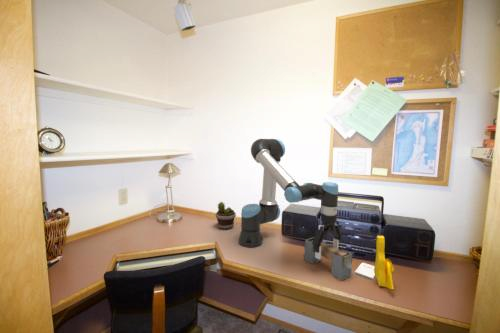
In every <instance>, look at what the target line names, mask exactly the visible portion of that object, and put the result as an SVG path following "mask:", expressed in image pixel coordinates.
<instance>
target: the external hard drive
mask: <svg viewBox="0 0 500 333" xmlns="http://www.w3.org/2000/svg"><path fill="white" fill-rule="evenodd" d="M374 267H375V265H373V264H368V263H367V262H361V263H360V264H359V265H358V267H357V268H356V270H355V271H354V272H353V273H354V275H356V276H359V277H363V278H365V279H367V280H370V281H373V280H374V279H376V277H375V274H374Z"/></svg>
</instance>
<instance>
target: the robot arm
mask: <svg viewBox="0 0 500 333" xmlns="http://www.w3.org/2000/svg"><path fill="white" fill-rule="evenodd" d="M285 152H286V146H285V144H284V143H283V141H282V140H281V139H277V138H259V139H256V140H255V141H253V143H252V144H251V146H250V154H251V156H252V158H253V160H254V161H255V162H256V163H257V164H260V165H261V166H262V167H263V175H262V176H263V179H262V191H261V193H262V194H261V199H260V200H259V202H258V203H248V204H245V205H244V206H243V207H242V208H241V214H240V215H241V218H240V219H241V220H240V222H241V225H240V226H241V228H240V229H241V230H240V233H239V235H238V240H237V241H238V244H239V245H240V246H242V247H244V248H257V247H259V246H262V244H263V240H264V239H263V236H262V234H261V225H263V224H267V223H272V222H275V221H277V220H278V218H280V215H281V208H280V205H279V204H278V202H277V200H276V193H277V192H276V191H277V184H278V186H279V187H280V188H281V189H282V190H283V191H284V193H283V195H284V198H285V200H286V201H287V202H288V203H291V204H292V203H300V202H302V201H307V200H308V201H309V200H312V199H314V200H318V201H321V204H320V205H321V208H320V221H321V222H322V223H321V224H318V225H317V227H316V231H315V234H314V236H313V237H314V239H313V242H312V244H313V245H315V257H316V258H318V259H319V260H320V259H321V260H322V256H321V246H320V245H321V243H322V242H324V239H325V237H326V236H327V235H328V234H329V233H330V234H332V236H333V238H332V239H333V240H332V241H333V242H332V247H334V248H336V249H339V242H340V241H341V240H342V237H343V234H342V232H341V228H340V221H338V215H337V214H338V201H339V200H338V199H339V193H340V192H339V185H338V183H336V182H331V181H325V182H322V184H316V183H312V182H304V183H303V184H302V185H300V184H298V182H297V181H296V180H295V179H294V178H293V177H292V176H291V175H290V173H288V172H287V171H286V170H285V169H284V168H283V166H282V165H281V164H280V162H281V159H282V158H283V157H284V155H285ZM318 243H319V244H318Z"/></svg>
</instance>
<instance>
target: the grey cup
mask: <svg viewBox="0 0 500 333" xmlns="http://www.w3.org/2000/svg"><path fill="white" fill-rule="evenodd" d="M341 251H343V252H345V253H347V255H346V256H344V257H342V256H340V255H338V254H336V253H333V261H332V265H331V269H332V270H331V276H333V277H335V278H337V280H340V281H345V280H347V279H348V278H350V277H352V271H353V269H352V268H353V254H354V253H351V252H349V251H347V250H344V249H341Z"/></svg>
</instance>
